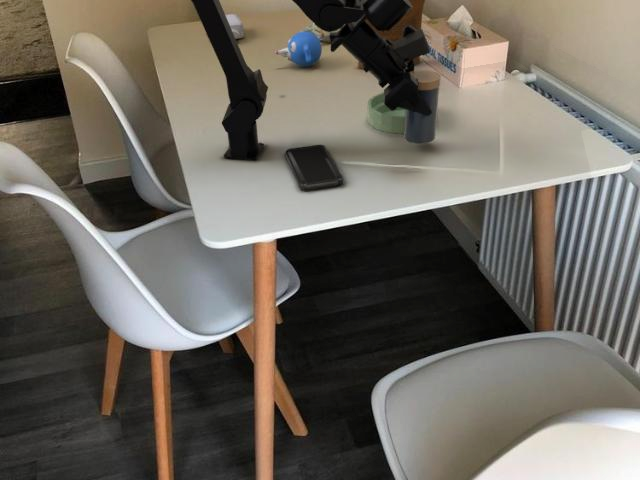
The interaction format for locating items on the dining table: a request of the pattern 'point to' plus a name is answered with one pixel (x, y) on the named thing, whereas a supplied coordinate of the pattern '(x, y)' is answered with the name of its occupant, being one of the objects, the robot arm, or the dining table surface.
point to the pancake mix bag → (403, 25)
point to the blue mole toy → (302, 49)
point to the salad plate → (319, 32)
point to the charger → (235, 25)
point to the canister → (418, 124)
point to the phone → (313, 167)
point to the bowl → (385, 116)
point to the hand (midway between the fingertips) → (428, 107)
